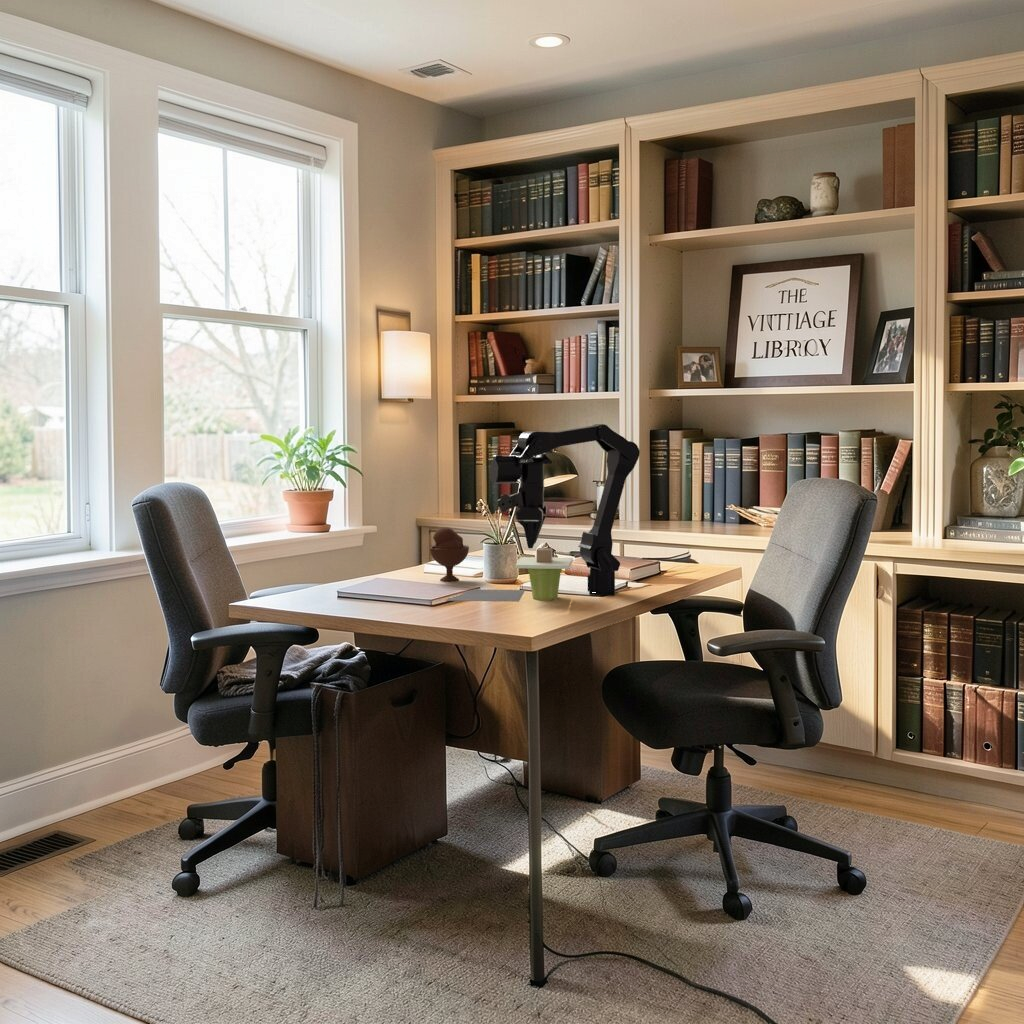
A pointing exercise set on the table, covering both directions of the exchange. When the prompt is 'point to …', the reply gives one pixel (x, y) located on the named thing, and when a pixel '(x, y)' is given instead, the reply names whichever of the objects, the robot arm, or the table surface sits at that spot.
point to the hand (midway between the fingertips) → (531, 545)
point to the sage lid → (544, 561)
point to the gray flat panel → (489, 595)
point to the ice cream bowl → (448, 551)
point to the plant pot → (544, 583)
